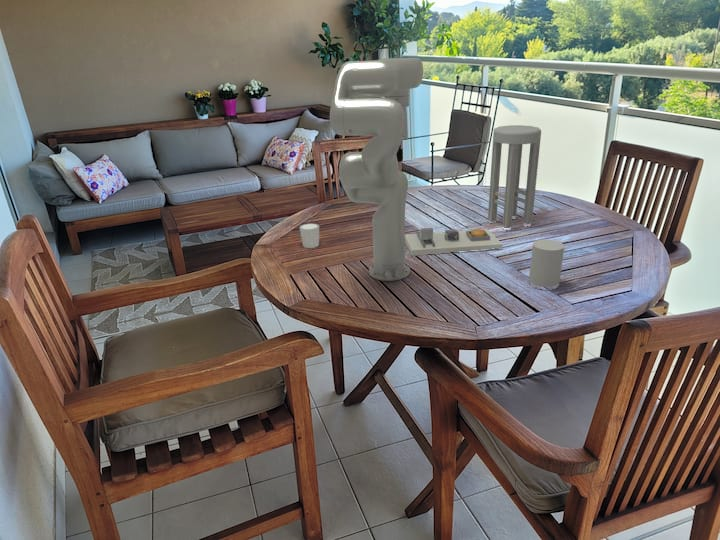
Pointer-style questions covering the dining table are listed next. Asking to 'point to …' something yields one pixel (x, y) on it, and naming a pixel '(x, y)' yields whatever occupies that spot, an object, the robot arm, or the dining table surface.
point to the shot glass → (310, 235)
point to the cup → (546, 263)
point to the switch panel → (451, 243)
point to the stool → (514, 171)
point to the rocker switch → (451, 233)
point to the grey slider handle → (426, 235)
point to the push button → (477, 233)
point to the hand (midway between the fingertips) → (397, 161)
